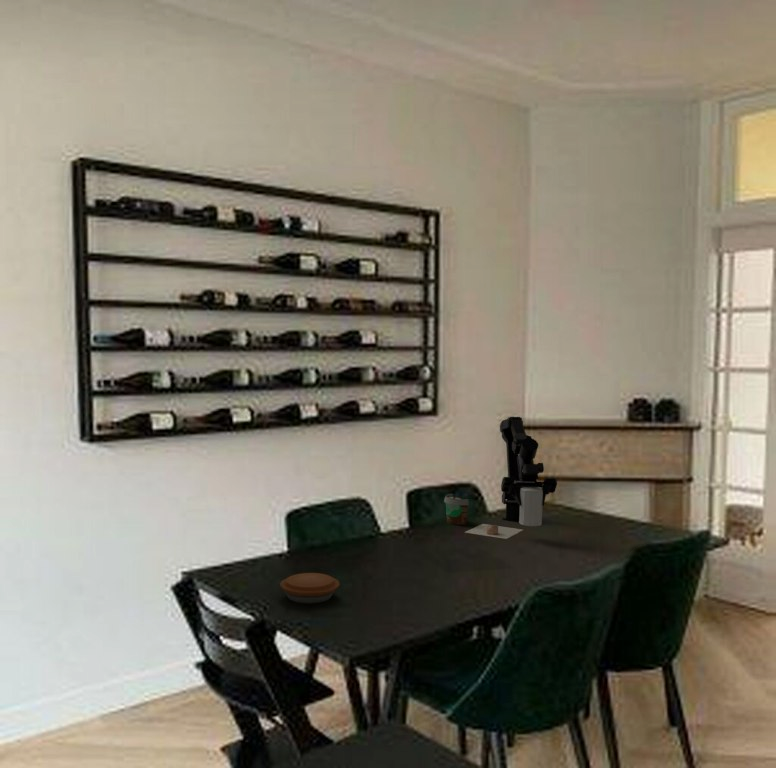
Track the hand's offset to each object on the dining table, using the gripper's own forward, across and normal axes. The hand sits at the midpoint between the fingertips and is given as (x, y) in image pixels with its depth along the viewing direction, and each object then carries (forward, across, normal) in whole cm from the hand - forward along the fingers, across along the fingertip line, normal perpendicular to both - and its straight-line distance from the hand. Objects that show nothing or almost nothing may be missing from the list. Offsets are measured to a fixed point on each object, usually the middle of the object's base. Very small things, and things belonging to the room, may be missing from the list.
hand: (531, 505), depth 264 cm
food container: (-8, -24, +27) cm, 37 cm away
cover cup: (+4, 0, +6) cm, 7 cm away
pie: (+52, -71, -34) cm, 94 cm away
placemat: (0, -11, +18) cm, 21 cm away
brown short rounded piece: (+2, -12, +15) cm, 19 cm away
